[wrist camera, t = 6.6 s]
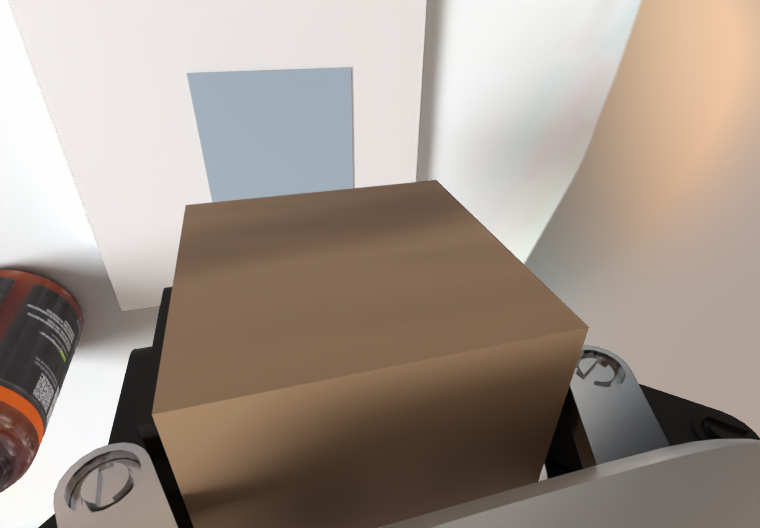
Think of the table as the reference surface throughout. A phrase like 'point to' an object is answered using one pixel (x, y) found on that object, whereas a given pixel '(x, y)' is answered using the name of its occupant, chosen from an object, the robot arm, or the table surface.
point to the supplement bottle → (31, 363)
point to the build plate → (220, 109)
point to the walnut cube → (355, 360)
